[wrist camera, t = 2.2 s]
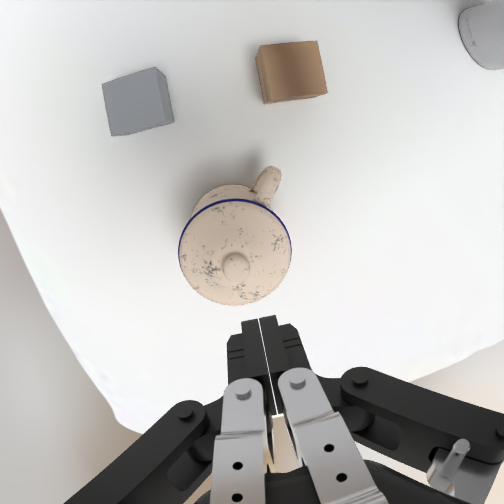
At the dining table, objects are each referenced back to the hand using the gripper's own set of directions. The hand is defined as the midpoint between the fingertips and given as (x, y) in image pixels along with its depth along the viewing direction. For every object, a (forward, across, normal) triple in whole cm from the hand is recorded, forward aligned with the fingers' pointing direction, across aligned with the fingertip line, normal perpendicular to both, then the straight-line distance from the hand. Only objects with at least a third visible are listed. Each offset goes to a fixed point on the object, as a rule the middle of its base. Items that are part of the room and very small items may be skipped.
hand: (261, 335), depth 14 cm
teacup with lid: (+21, 0, 0) cm, 21 cm away
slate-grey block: (+21, +7, -13) cm, 26 cm away
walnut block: (+21, -7, -13) cm, 26 cm away
